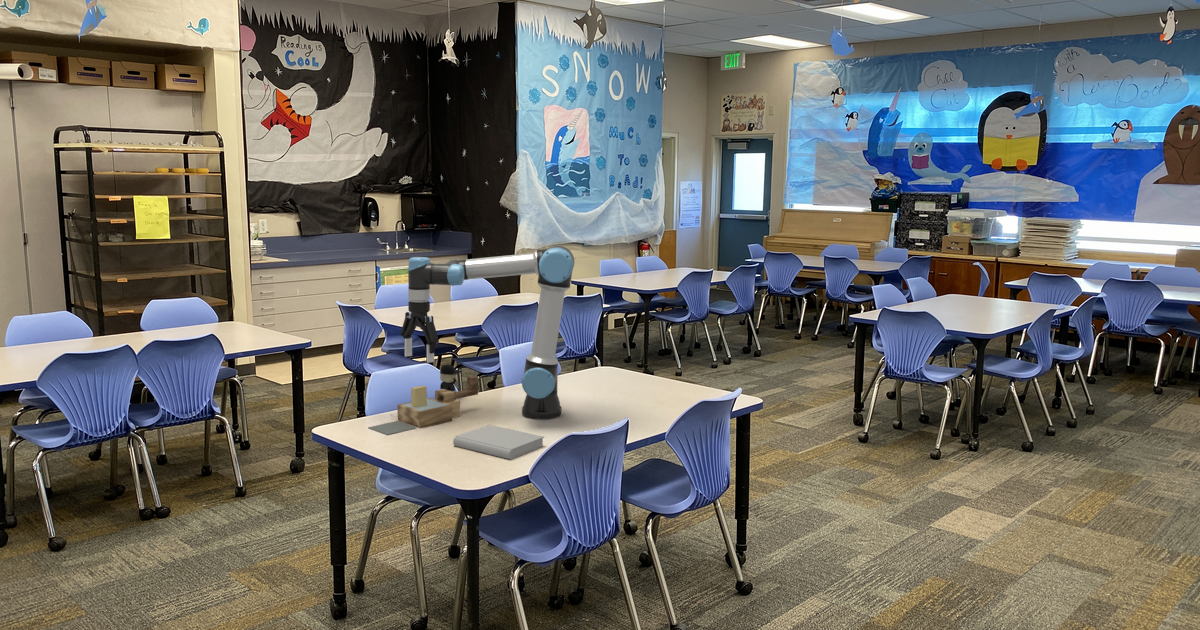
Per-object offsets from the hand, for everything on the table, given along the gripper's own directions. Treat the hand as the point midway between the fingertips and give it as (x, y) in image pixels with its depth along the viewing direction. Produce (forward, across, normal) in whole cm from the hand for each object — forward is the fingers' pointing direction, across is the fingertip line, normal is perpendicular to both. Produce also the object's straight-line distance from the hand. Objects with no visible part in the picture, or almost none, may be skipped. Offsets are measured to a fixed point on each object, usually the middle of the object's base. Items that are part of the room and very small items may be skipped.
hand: (419, 359), depth 309 cm
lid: (+18, 0, -2) cm, 18 cm away
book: (+24, -43, -2) cm, 49 cm away
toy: (+23, +17, -27) cm, 39 cm away
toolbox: (+23, 0, -5) cm, 24 cm away
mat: (+23, -1, +12) cm, 26 cm away
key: (+17, 0, -18) cm, 25 cm away
